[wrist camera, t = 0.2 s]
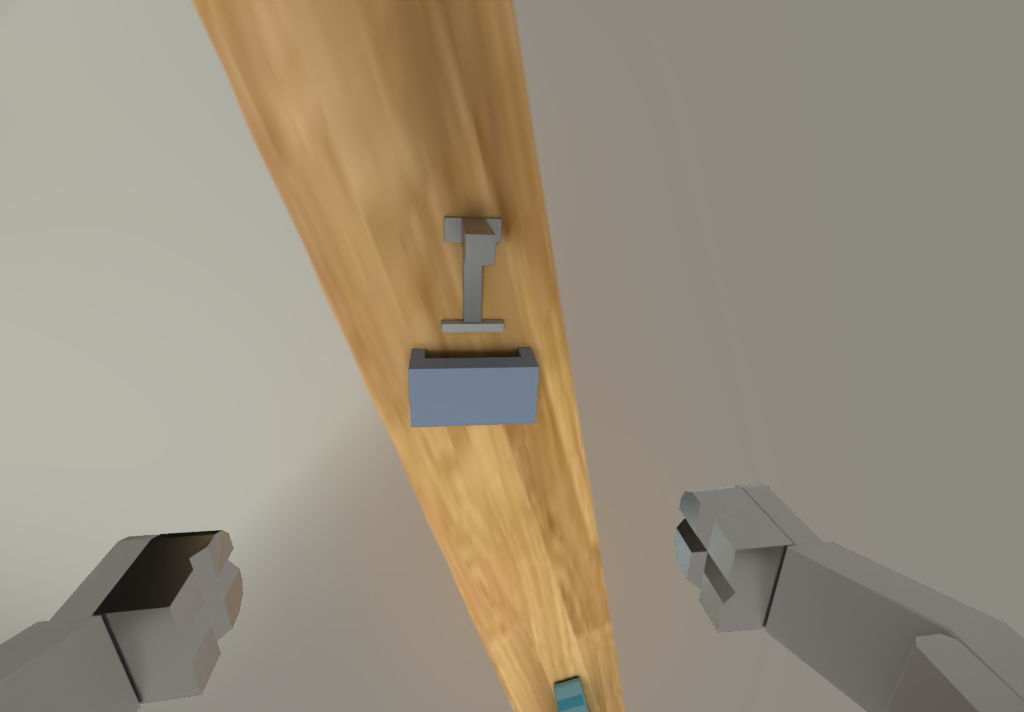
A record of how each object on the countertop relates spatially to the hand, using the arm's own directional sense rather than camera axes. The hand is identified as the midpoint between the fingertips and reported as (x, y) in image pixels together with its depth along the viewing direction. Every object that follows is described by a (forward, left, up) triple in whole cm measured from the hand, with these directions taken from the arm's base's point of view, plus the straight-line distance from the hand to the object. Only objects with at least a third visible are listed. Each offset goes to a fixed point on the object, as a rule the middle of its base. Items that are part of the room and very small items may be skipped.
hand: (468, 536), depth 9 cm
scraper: (+5, +3, -47) cm, 47 cm away
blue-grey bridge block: (+18, +2, -47) cm, 50 cm away
